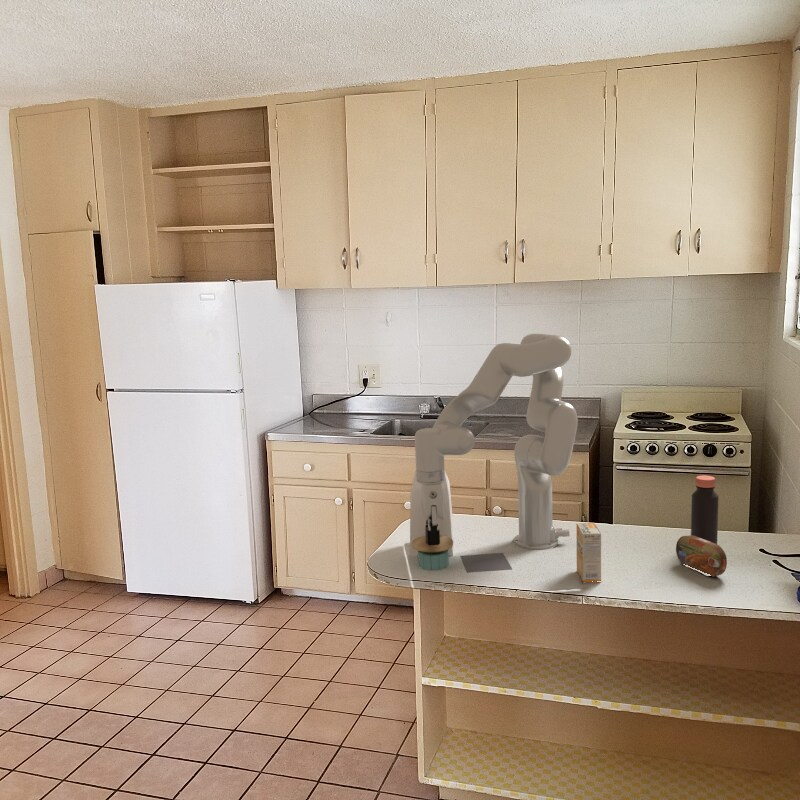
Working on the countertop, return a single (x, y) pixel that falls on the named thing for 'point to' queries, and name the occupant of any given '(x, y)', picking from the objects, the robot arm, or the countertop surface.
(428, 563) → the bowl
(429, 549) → the lid
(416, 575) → the countertop surface
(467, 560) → the mat
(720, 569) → the tin
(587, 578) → the supplement box
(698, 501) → the bottle
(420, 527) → the milk
